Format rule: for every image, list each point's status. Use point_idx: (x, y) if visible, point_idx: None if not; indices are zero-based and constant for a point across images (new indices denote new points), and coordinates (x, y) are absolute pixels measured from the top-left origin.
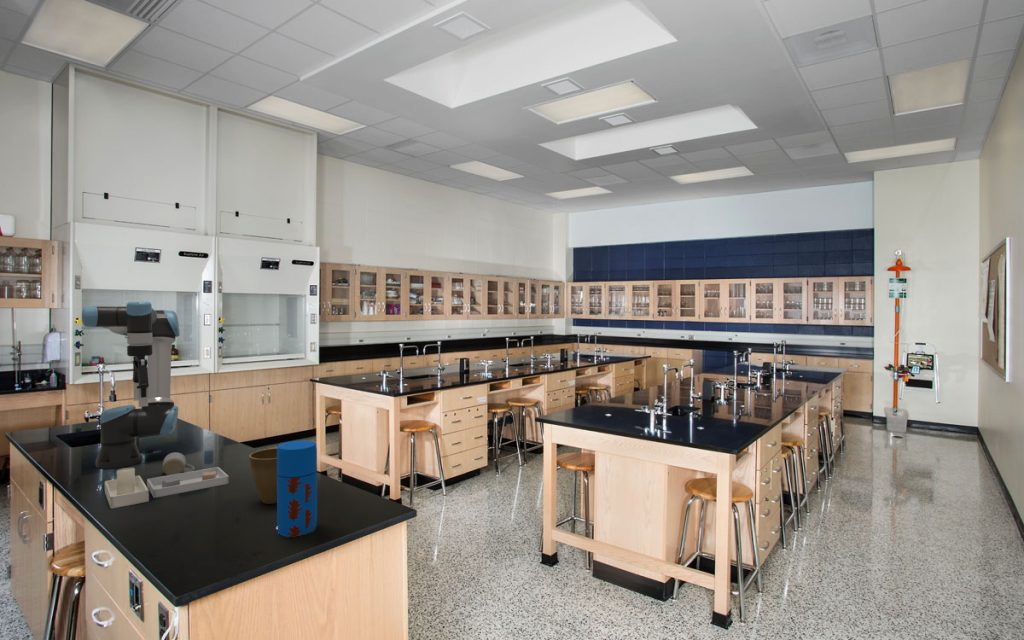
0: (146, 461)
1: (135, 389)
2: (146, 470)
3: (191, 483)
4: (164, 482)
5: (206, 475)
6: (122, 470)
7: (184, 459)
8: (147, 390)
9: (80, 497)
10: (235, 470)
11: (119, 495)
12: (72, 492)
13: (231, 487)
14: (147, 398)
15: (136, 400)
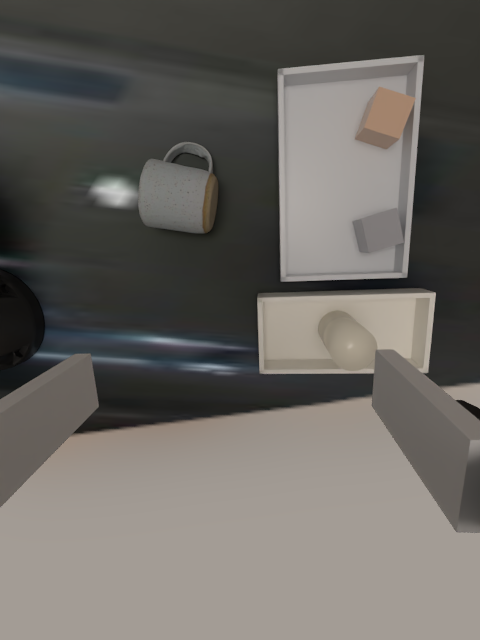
0: (5, 254)
1: (37, 452)
2: (106, 264)
3: (414, 178)
4: (383, 248)
5: (404, 125)
6: (355, 357)
7: (174, 164)
8: (477, 422)
9: (266, 404)
10: (261, 18)
11: (427, 355)
12: (213, 415)
13: (451, 68)
14: (425, 378)
15: (96, 392)
